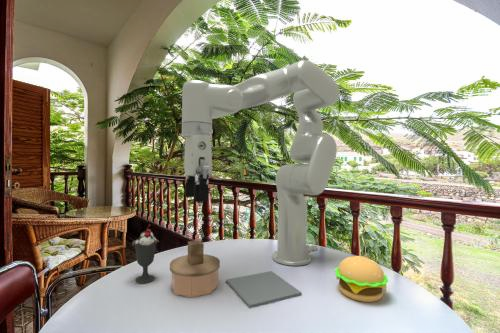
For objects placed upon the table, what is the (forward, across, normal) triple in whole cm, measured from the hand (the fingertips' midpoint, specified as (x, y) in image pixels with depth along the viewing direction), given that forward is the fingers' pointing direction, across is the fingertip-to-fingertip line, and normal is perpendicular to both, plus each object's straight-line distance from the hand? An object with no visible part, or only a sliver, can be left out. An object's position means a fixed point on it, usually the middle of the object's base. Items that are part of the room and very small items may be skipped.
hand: (195, 199), depth 66 cm
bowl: (+22, 0, 0) cm, 22 cm away
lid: (+17, 0, 0) cm, 17 cm away
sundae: (+22, +9, +11) cm, 26 cm away
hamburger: (+22, -20, -36) cm, 47 cm away
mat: (+22, -8, -15) cm, 28 cm away
